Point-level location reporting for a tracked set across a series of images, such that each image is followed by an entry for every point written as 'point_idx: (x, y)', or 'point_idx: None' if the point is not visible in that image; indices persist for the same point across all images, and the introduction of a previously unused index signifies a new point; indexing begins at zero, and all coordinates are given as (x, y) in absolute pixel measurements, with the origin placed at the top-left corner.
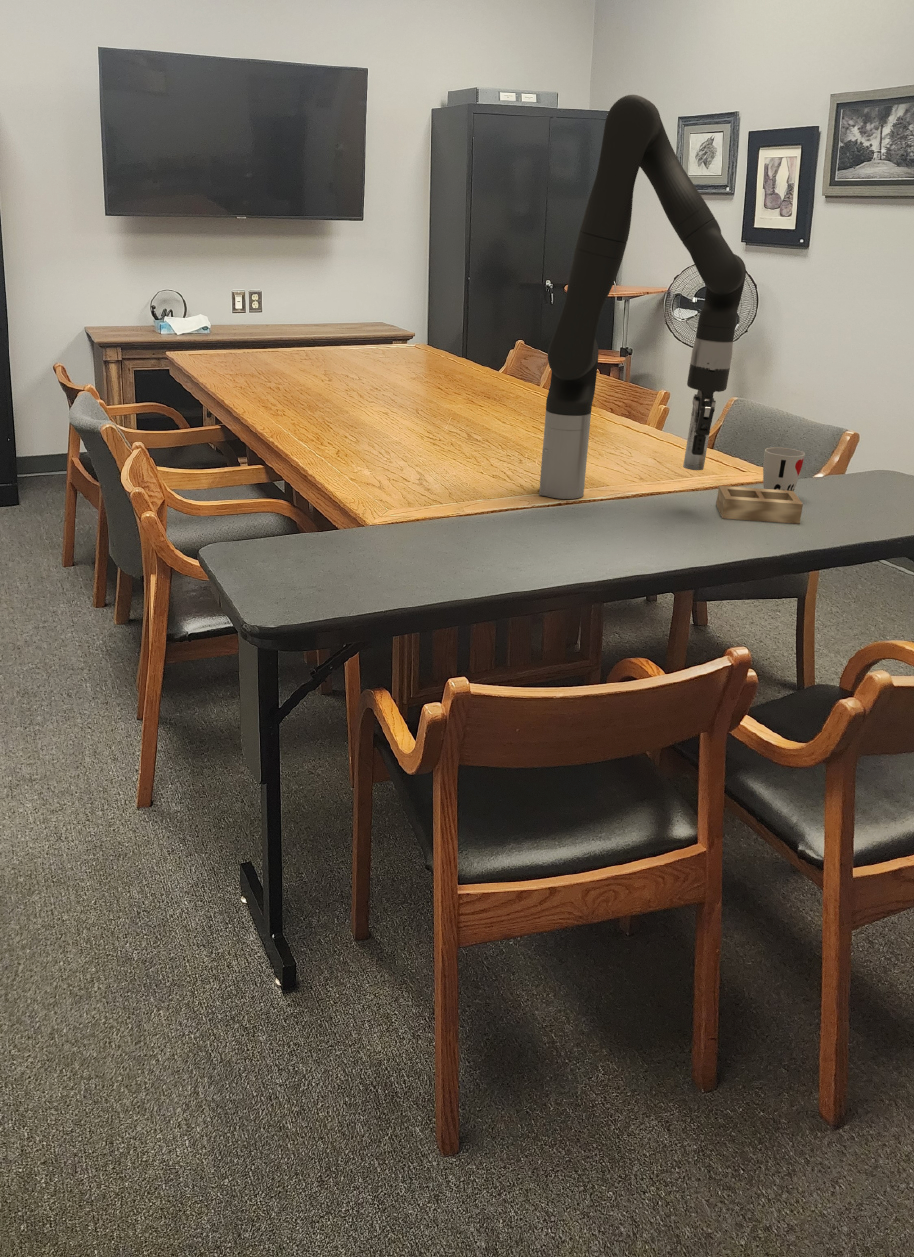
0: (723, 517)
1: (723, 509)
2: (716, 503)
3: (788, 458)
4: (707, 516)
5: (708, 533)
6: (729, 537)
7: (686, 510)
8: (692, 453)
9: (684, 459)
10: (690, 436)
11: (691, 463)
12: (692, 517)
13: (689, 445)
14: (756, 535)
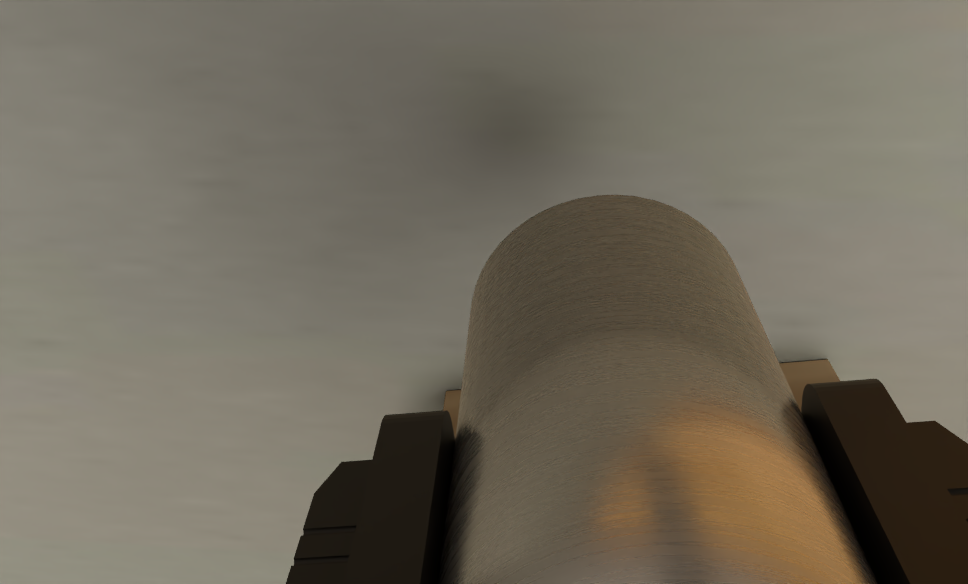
0: (445, 400)
1: (455, 426)
2: (822, 365)
3: None
4: (458, 293)
5: (11, 294)
6: (3, 417)
7: (577, 134)
8: (385, 418)
9: (592, 243)
10: (510, 553)
11: (472, 331)
12: (380, 184)
13: (504, 426)
14: (145, 558)
